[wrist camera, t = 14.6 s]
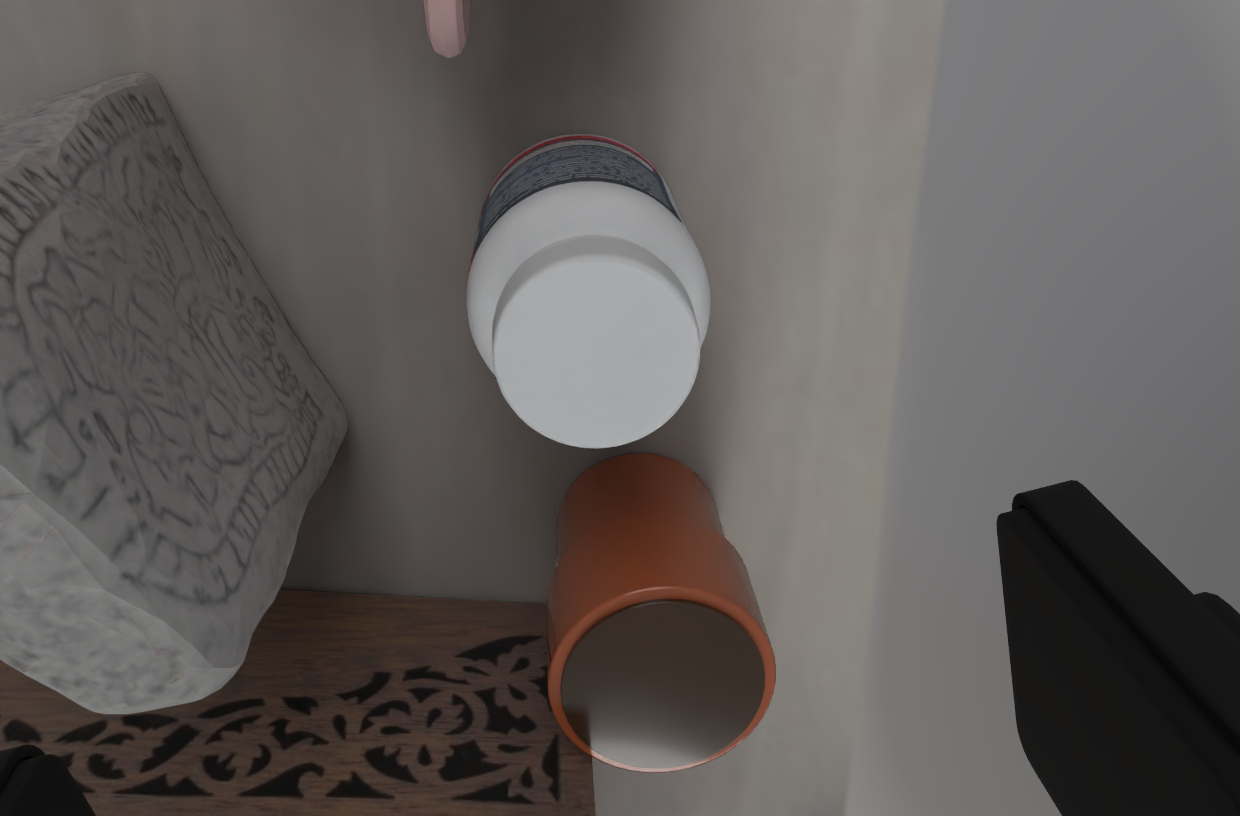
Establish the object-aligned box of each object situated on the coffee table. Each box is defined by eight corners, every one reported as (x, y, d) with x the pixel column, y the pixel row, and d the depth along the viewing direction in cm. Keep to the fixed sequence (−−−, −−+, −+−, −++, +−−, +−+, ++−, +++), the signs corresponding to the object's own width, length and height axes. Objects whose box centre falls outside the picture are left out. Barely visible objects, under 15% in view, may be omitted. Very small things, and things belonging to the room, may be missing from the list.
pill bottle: (442, 188, 28) (401, 294, 20) (624, 94, 27) (660, 164, 19) (538, 358, 30) (537, 518, 22) (710, 275, 29) (775, 408, 21)
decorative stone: (400, 408, 30) (283, 804, 16) (215, 493, 31) (-46, 942, 17) (172, 36, 26) (-244, 153, 12) (-36, 146, 26) (-653, 373, 13)
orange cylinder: (525, 467, 31) (520, 622, 24) (707, 422, 31) (755, 566, 24) (571, 617, 33) (579, 800, 26) (741, 577, 33) (795, 750, 26)
